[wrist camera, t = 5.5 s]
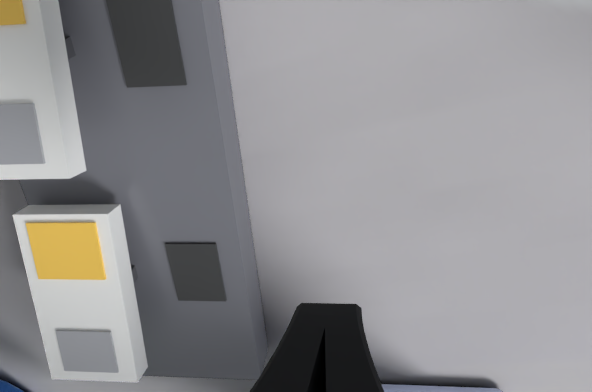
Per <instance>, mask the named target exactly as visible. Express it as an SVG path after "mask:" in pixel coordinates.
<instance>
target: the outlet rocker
mask: <svg viewBox="0 0 592 392" xmlns="http://www.w3.org/2000/svg"><path fill="white" fill-rule="evenodd" d="M85 171H86V165H85V159H84V153H83V147H82V141H81V135H80V129H79V123H78V117H77V111H76V105H75V99H74V92H73V86H72V80H71V74H70V68H69V62H68V56H67V50H66V44H65V38H64V32H63V26H62V20H61V14H60V8H59V2H58V0H0V180H17V179H70V178H72V177H74V176H76V175H78V174H80V173H82V172H85Z"/></svg>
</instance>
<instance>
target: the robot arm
mask: <svg viewBox="0 0 592 392" xmlns="http://www.w3.org/2000/svg"><path fill="white" fill-rule="evenodd" d="M250 392H503V391H502V390H500V389H496V388H476V387H448V386H421V385H394V384H381V382H380V380H379V377H378V374H377V371H376V369H375V366H374V363H373V360H372V357H371V354H370V351H369V348H368V344H367V340H366V337H365V332H364V328H363V322H362V312H361V308H360V307H359V306H358V305H357V304H321V303H301V304H300V305H299V306H297V308H296V310H295V313H294V315H293V317H292V320H291V322H290V324H289V326H288V328H287V330H286V332H285V334H284V336H283V338H282V340H281V341H280V343H279V345H278V347H277V349H276V351H275V352H274V354H273V356H272V357H271V359H270V361H269V362H268V364H267V366H266V367H265V369H264V371H263V372H262V374H261V376H260V377H259V379H258V380H257V382H256V383H255V385H254V386H253V388H252V389H251V390H250Z"/></svg>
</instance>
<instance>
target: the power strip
mask: <svg viewBox="0 0 592 392" xmlns="http://www.w3.org/2000/svg"><path fill="white" fill-rule="evenodd" d="M58 2H59V8H60V14H61V20H62V26H63V32H64V38H65V44H66V50H67V56H68V62H69V68H70V74H71V80H72V86H73V92H74V99H75V105H76V111H77V117H78V123H79V129H80V135H81V141H82V147H83V153H84V159H85V165H86V171H85V172H82V173H80V174H78V175H76V176H74V177H72V178H70V179H19V182H20V184H21V187H22V190H23V192H24V195H25V198H26V200H27V203H28V205H88V204H120V205H121V211H122V217H123V223H124V229H125V234H126V240H127V246H128V252H129V258H130V264H131V270H132V276H133V282H134V288H135V293H136V299H137V305H138V311H139V317H140V323H141V329H142V335H143V341H144V346H145V352H146V358H147V364H148V367H147V369H146V371H145V372H144V374H143V375H142V376H166V377H193V378H220V379H248V380H258V379H259V377H260V376H261V374H262V372H263V368H264V363H265V359H266V354H267V349H268V343H267V336H266V328H265V321H264V314H263V307H262V300H261V293H260V286H259V279H258V272H257V265H256V258H255V251H254V244H253V237H252V230H251V223H250V216H249V209H248V202H247V195H246V188H245V181H244V174H243V167H242V160H241V153H240V146H239V139H238V132H237V125H236V118H235V111H234V104H233V97H232V90H231V83H230V76H229V69H228V61H227V54H226V47H225V40H224V33H223V26H222V19H221V12H220V5H219V0H58Z"/></svg>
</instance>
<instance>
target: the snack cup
mask: <svg viewBox="0 0 592 392" xmlns="http://www.w3.org/2000/svg"><path fill="white" fill-rule="evenodd" d="M0 392H24V391H22V390H21V389H19V388H17V387H15V386H13V385H12V384H10V383H8V382H7V381H3V380H0Z"/></svg>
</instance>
